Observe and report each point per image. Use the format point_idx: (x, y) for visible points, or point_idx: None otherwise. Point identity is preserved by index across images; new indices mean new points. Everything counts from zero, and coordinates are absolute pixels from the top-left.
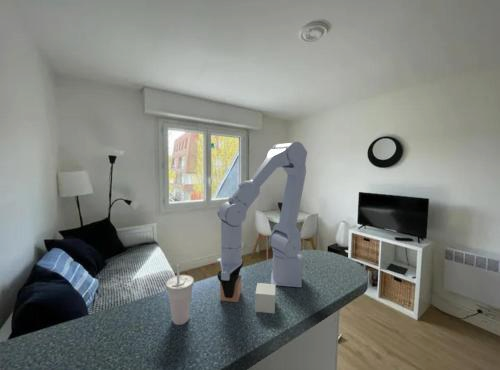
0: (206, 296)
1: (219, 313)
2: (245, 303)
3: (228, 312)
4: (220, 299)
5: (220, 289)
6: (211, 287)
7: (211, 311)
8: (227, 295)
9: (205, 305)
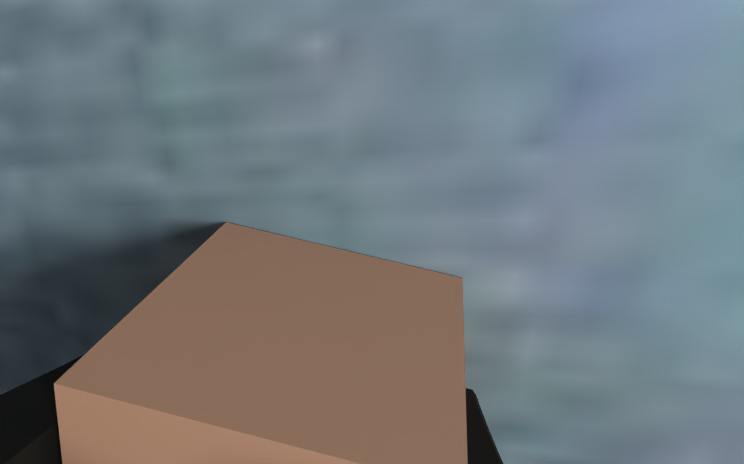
0: (308, 8)
1: (6, 217)
2: None
3: (44, 304)
4: (218, 230)
5: (136, 307)
6: (574, 65)
7: (12, 124)
8: None
9: (100, 26)
